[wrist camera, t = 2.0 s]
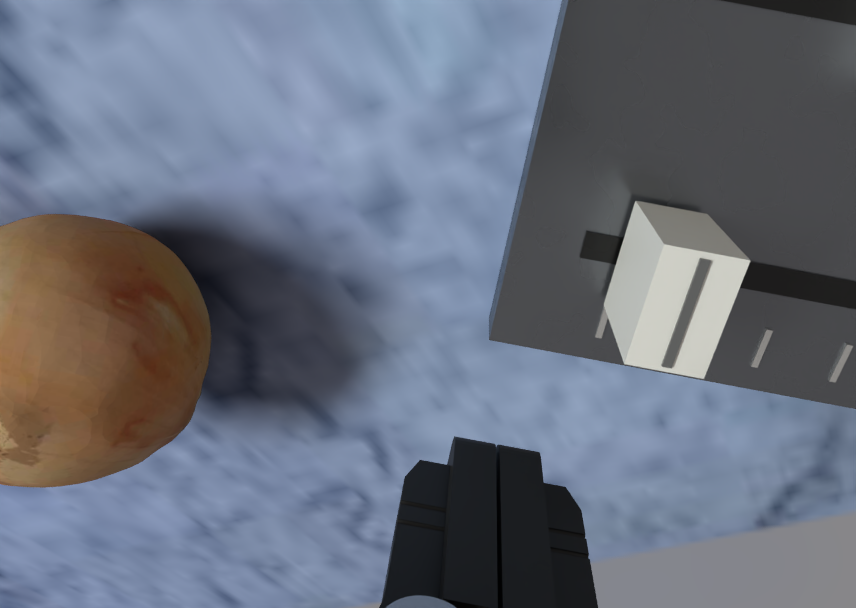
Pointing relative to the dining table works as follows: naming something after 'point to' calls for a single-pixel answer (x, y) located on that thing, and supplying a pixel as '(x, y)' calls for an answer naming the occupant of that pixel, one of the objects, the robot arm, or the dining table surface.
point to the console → (696, 179)
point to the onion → (93, 348)
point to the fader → (673, 289)
